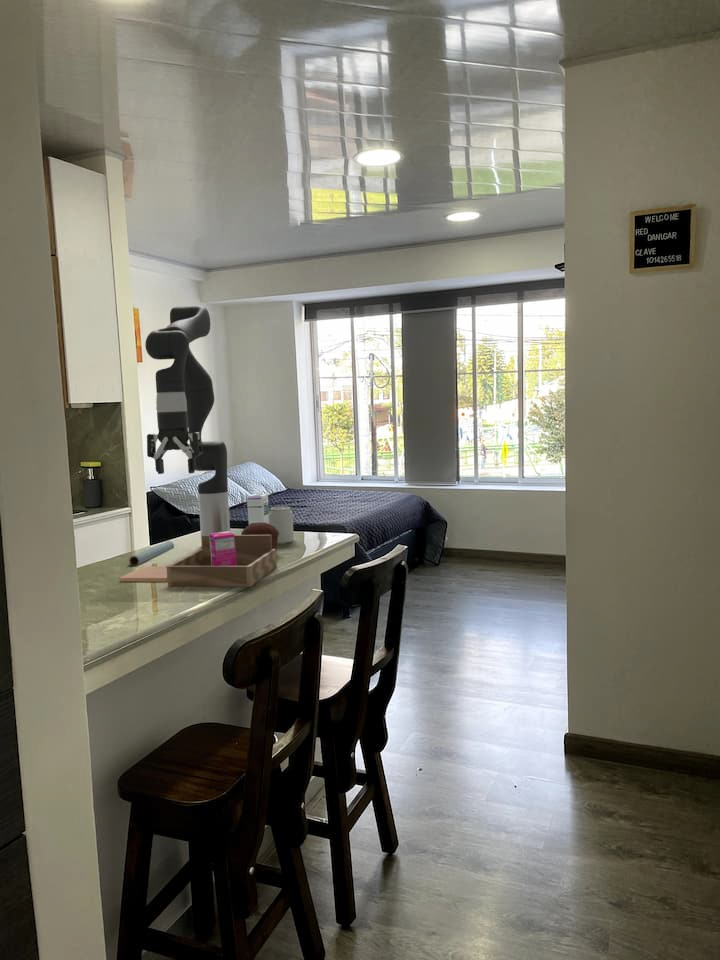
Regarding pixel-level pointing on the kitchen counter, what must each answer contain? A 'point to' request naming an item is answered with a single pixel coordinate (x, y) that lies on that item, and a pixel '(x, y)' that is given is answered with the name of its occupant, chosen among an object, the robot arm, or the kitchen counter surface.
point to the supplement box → (222, 549)
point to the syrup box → (258, 508)
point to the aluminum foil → (150, 553)
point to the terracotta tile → (146, 575)
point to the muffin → (262, 531)
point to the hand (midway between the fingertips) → (176, 473)
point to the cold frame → (251, 566)
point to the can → (282, 523)
